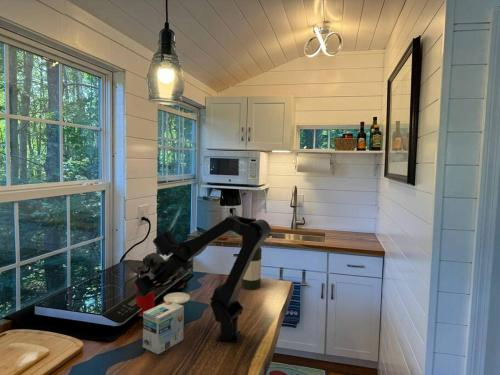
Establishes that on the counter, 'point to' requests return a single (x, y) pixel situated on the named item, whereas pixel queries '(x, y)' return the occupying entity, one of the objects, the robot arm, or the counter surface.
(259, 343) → the counter surface
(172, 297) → the coaster
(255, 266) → the wine bottle
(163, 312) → the light bulb box
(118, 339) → the counter surface
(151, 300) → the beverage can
